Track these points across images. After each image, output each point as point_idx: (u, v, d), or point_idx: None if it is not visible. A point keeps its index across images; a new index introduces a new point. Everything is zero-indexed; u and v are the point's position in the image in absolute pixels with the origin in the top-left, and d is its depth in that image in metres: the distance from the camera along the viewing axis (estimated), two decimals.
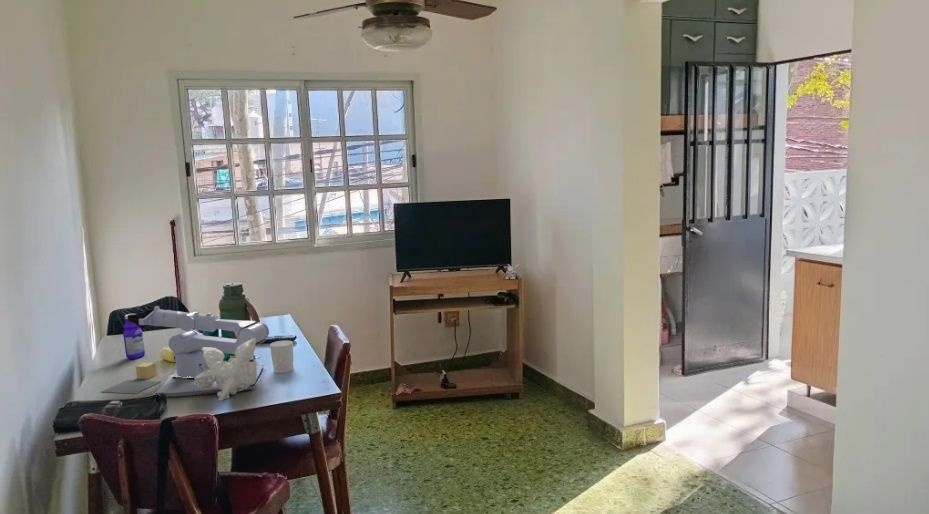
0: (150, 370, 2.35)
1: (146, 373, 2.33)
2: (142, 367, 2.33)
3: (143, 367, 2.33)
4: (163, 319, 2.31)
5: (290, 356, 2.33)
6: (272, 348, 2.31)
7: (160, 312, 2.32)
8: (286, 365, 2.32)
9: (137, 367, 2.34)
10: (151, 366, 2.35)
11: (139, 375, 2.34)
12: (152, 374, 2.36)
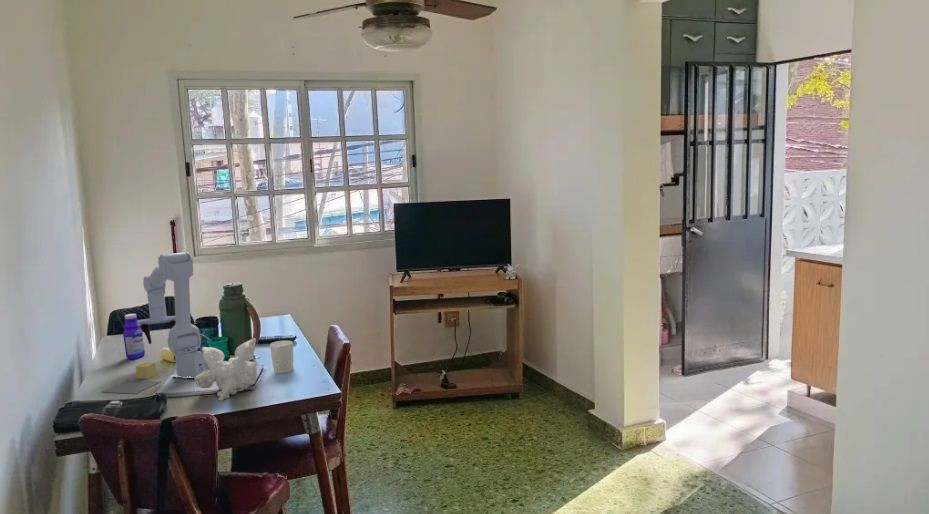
0: (150, 370, 2.35)
1: (146, 373, 2.33)
2: (142, 367, 2.33)
3: (143, 367, 2.33)
4: None
5: (290, 356, 2.33)
6: (272, 348, 2.31)
7: None
8: (286, 365, 2.32)
9: (137, 367, 2.34)
10: (151, 366, 2.35)
11: (139, 375, 2.34)
12: (152, 374, 2.36)
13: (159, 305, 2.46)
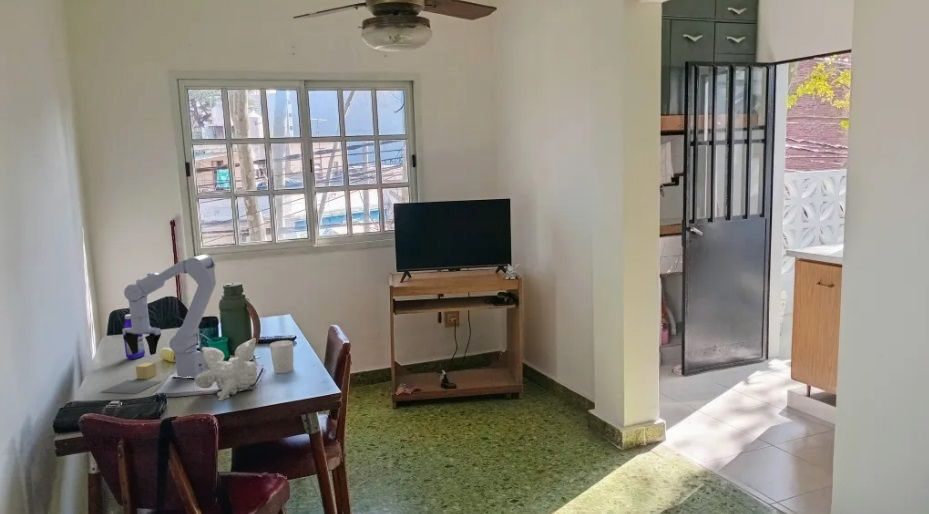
0: (150, 370, 2.35)
1: (146, 373, 2.33)
2: (142, 367, 2.33)
3: (143, 367, 2.33)
4: None
5: (290, 356, 2.33)
6: (272, 348, 2.31)
7: None
8: (286, 365, 2.32)
9: (137, 367, 2.34)
10: (151, 366, 2.35)
11: (139, 375, 2.34)
12: (152, 374, 2.36)
13: (146, 313, 2.33)
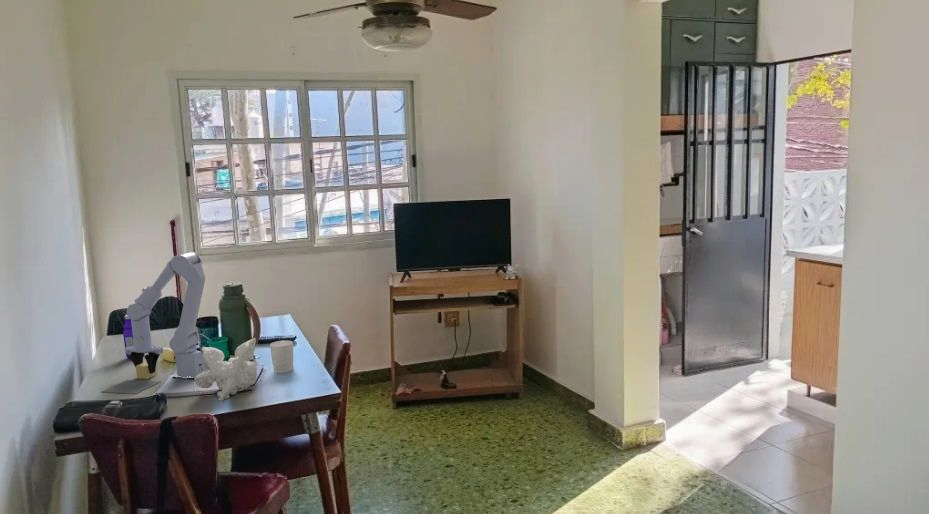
0: None
1: (146, 373, 2.33)
2: (142, 367, 2.33)
3: (143, 367, 2.33)
4: None
5: (290, 356, 2.33)
6: (272, 348, 2.31)
7: None
8: (286, 365, 2.32)
9: (137, 367, 2.34)
10: None
11: (139, 375, 2.34)
12: (152, 374, 2.36)
13: (149, 333, 2.34)
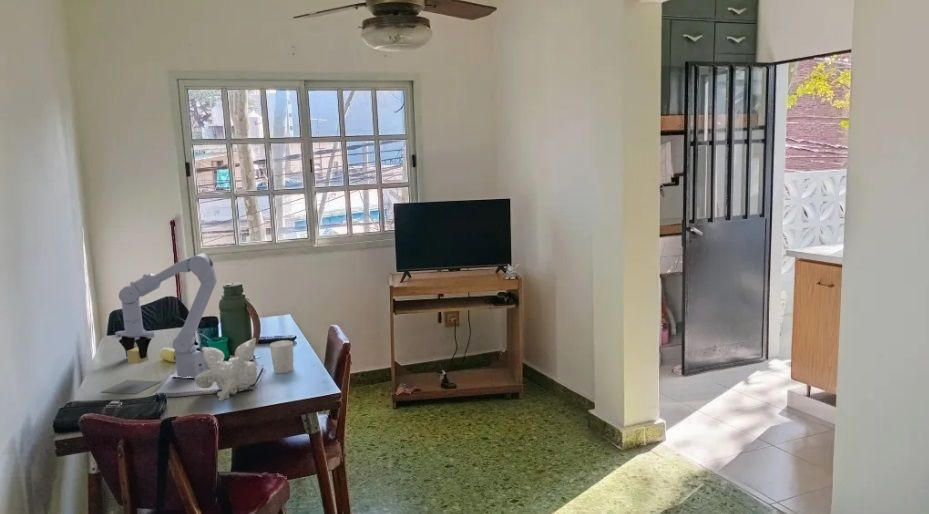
0: None
1: (137, 358, 2.28)
2: (133, 352, 2.28)
3: (134, 352, 2.28)
4: None
5: (290, 356, 2.33)
6: (272, 348, 2.31)
7: None
8: (286, 365, 2.32)
9: (128, 352, 2.28)
10: None
11: (130, 360, 2.28)
12: (143, 359, 2.30)
13: (141, 316, 2.29)
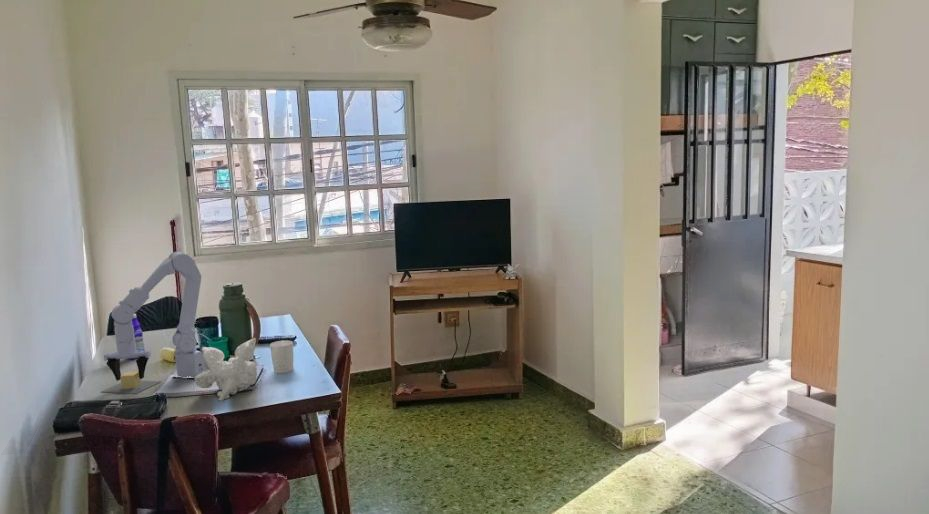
0: (136, 379, 2.24)
1: (134, 382, 2.23)
2: (129, 376, 2.22)
3: (130, 376, 2.22)
4: None
5: (290, 356, 2.33)
6: (272, 348, 2.31)
7: None
8: (286, 365, 2.32)
9: (122, 377, 2.22)
10: (137, 374, 2.25)
11: (124, 385, 2.23)
12: (138, 383, 2.25)
13: (134, 336, 2.24)
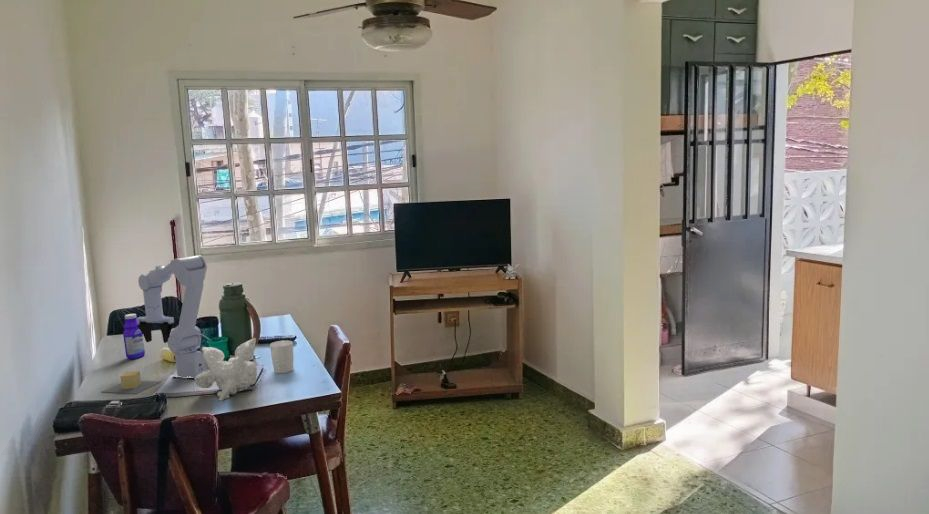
0: (136, 379, 2.24)
1: (134, 382, 2.23)
2: (129, 376, 2.22)
3: (130, 376, 2.22)
4: None
5: (290, 356, 2.33)
6: (272, 348, 2.31)
7: None
8: (286, 365, 2.32)
9: (122, 377, 2.22)
10: (137, 374, 2.25)
11: (124, 385, 2.23)
12: (138, 383, 2.25)
13: (157, 304, 2.39)
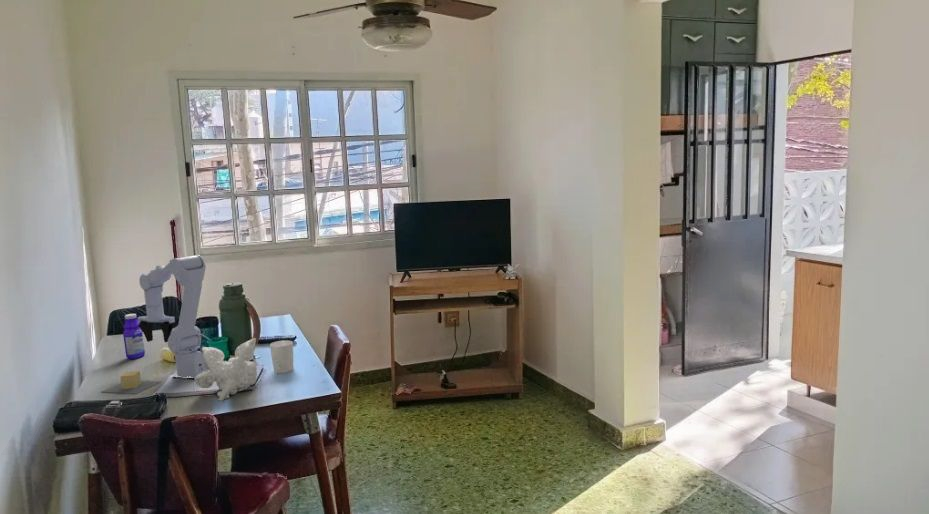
0: (136, 379, 2.24)
1: (134, 382, 2.23)
2: (129, 376, 2.22)
3: (130, 376, 2.22)
4: None
5: (290, 356, 2.33)
6: (272, 348, 2.31)
7: None
8: (286, 365, 2.32)
9: (122, 377, 2.22)
10: (137, 374, 2.25)
11: (124, 385, 2.23)
12: (138, 383, 2.25)
13: (158, 303, 2.40)
